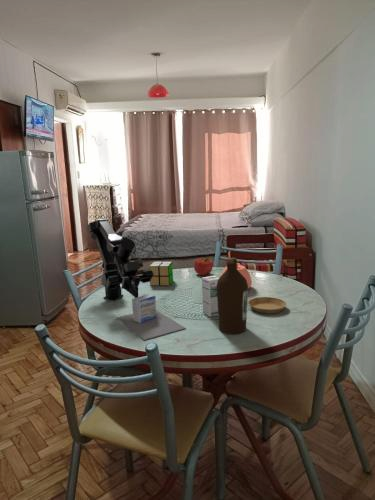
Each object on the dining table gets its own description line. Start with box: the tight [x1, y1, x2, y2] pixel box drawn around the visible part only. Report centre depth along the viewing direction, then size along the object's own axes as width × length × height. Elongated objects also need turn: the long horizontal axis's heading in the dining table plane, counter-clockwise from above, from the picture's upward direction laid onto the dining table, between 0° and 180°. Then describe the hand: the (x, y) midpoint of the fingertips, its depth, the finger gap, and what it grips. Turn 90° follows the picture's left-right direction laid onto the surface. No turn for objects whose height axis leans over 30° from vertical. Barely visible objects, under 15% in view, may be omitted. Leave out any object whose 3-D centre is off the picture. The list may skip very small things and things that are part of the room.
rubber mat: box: [116, 309, 187, 341], centre depth 134 cm, size 24×16×1 cm, turn 32°
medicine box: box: [131, 293, 157, 323], centre depth 136 cm, size 8×4×9 cm, turn 136°
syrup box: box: [201, 274, 220, 318], centre depth 140 cm, size 6×6×14 cm
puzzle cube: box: [148, 261, 174, 287], centre depth 184 cm, size 10×10×10 cm
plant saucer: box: [247, 296, 287, 314], centre depth 145 cm, size 15×15×3 cm
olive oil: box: [216, 257, 249, 335], centre depth 124 cm, size 11×11×25 cm
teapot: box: [220, 262, 253, 290], centre depth 170 cm, size 22×15×12 cm
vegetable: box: [193, 256, 215, 277], centre depth 198 cm, size 11×10×10 cm
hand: (137, 297), depth 141 cm, fingers closed
